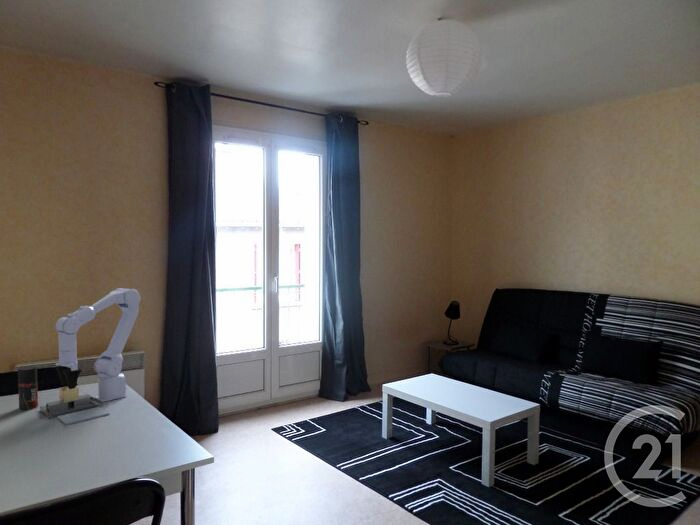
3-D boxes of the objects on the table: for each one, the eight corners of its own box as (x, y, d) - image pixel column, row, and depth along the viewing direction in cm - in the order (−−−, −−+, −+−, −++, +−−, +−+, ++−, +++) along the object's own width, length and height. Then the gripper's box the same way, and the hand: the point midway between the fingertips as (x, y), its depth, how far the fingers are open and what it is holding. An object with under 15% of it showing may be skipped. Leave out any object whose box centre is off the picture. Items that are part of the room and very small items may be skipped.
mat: (99, 408, 182) (99, 406, 182) (109, 414, 176) (109, 412, 175) (57, 418, 172) (57, 416, 172) (66, 425, 165) (66, 423, 165)
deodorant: (31, 410, 180) (29, 370, 180) (15, 410, 180) (13, 370, 180) (41, 405, 186) (40, 366, 186) (26, 405, 186) (24, 366, 186)
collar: (74, 396, 185) (74, 385, 185) (78, 399, 181) (78, 387, 181) (59, 399, 181) (59, 387, 181) (63, 402, 178) (63, 390, 178)
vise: (87, 400, 191) (86, 381, 191) (98, 407, 183) (97, 387, 183) (40, 410, 180) (39, 390, 180) (49, 418, 172) (49, 397, 171)
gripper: (49, 348, 183) (50, 384, 183) (61, 354, 173) (62, 392, 173) (70, 345, 188) (71, 380, 188) (83, 351, 178) (84, 388, 178)
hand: (68, 386), depth 181 cm, fingers open, 7 cm apart
